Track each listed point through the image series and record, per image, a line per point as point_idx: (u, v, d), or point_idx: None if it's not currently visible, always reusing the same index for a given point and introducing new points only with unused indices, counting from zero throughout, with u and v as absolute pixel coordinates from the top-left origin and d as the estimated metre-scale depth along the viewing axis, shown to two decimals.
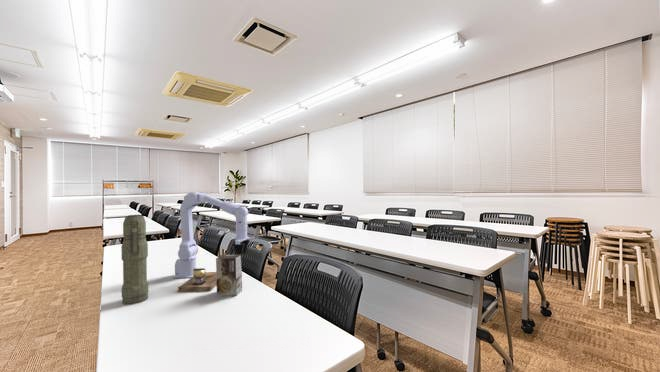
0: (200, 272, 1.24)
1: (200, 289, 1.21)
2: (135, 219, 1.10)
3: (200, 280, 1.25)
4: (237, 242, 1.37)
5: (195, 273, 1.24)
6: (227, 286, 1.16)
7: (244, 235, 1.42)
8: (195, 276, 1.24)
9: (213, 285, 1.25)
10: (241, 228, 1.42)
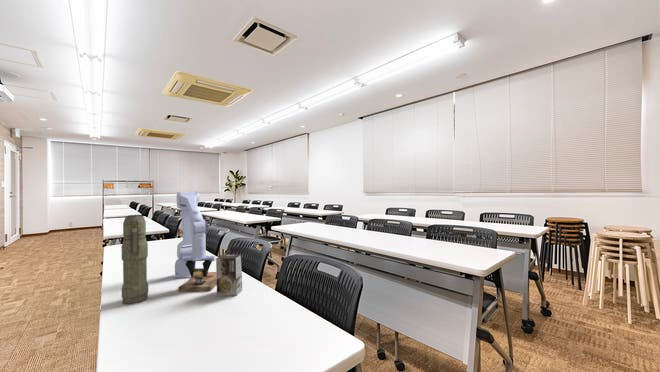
0: (200, 272, 1.24)
1: (200, 289, 1.21)
2: (135, 219, 1.10)
3: (200, 280, 1.25)
4: None
5: (195, 273, 1.24)
6: (227, 286, 1.16)
7: (192, 254, 1.24)
8: (195, 276, 1.24)
9: (213, 285, 1.25)
10: (192, 246, 1.24)
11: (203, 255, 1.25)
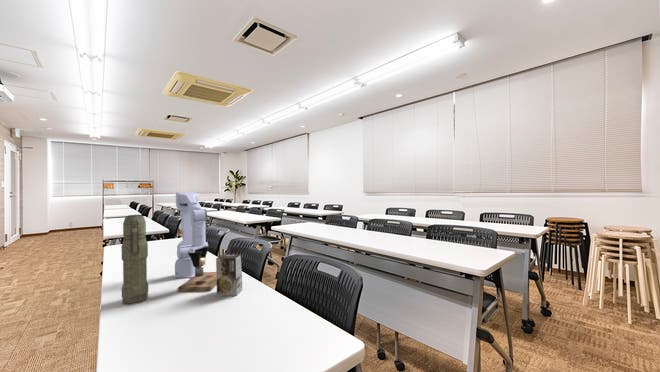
0: None
1: (200, 289, 1.21)
2: (135, 219, 1.10)
3: None
4: (191, 250, 1.19)
5: (204, 260, 1.26)
6: (227, 286, 1.16)
7: (201, 242, 1.25)
8: (204, 263, 1.26)
9: (213, 285, 1.25)
10: (192, 234, 1.24)
11: None
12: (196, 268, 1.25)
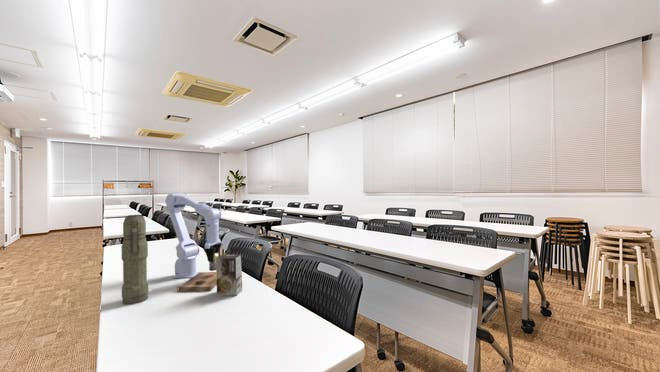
0: None
1: (200, 289, 1.21)
2: (135, 219, 1.10)
3: None
4: (206, 246, 1.30)
5: (217, 255, 1.37)
6: (227, 286, 1.16)
7: (215, 239, 1.36)
8: None
9: (213, 285, 1.25)
10: (209, 231, 1.35)
11: None
12: (210, 263, 1.36)
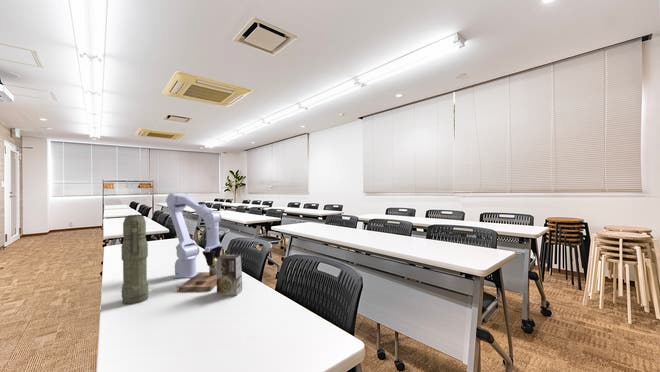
0: None
1: (200, 289, 1.21)
2: (135, 219, 1.10)
3: None
4: (206, 249, 1.30)
5: None
6: (227, 286, 1.16)
7: (215, 242, 1.36)
8: None
9: (213, 285, 1.25)
10: (209, 235, 1.35)
11: None
12: (210, 268, 1.36)
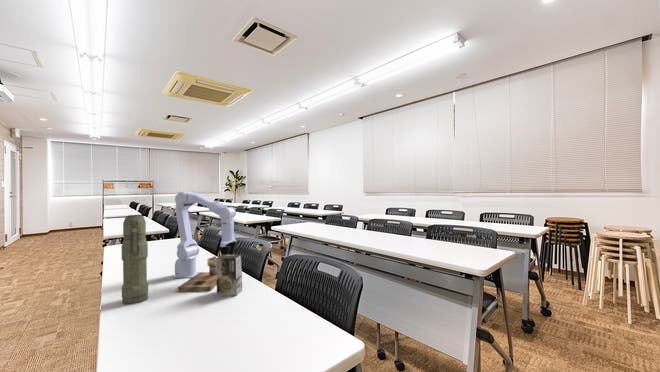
0: None
1: (200, 289, 1.21)
2: (135, 219, 1.10)
3: None
4: (222, 244, 1.30)
5: None
6: (227, 286, 1.16)
7: (230, 237, 1.36)
8: None
9: (213, 285, 1.25)
10: (225, 230, 1.35)
11: None
12: (210, 268, 1.36)
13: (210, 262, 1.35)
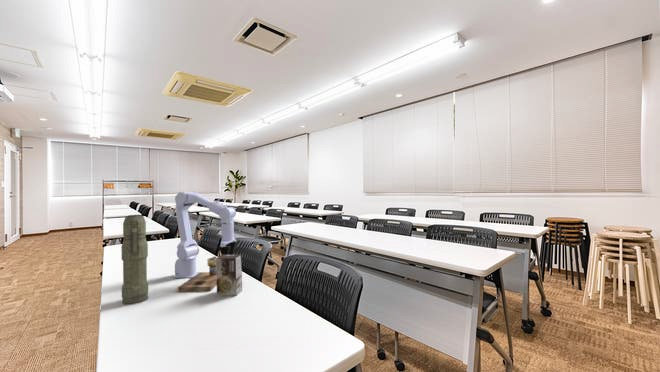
0: None
1: (200, 289, 1.21)
2: (135, 219, 1.10)
3: None
4: (222, 244, 1.30)
5: None
6: (227, 286, 1.16)
7: (230, 237, 1.36)
8: None
9: (213, 285, 1.25)
10: (225, 230, 1.35)
11: None
12: (210, 268, 1.36)
13: (210, 262, 1.35)
